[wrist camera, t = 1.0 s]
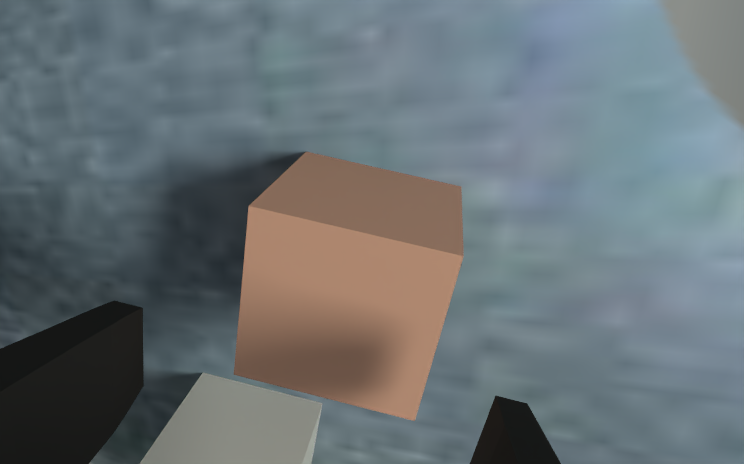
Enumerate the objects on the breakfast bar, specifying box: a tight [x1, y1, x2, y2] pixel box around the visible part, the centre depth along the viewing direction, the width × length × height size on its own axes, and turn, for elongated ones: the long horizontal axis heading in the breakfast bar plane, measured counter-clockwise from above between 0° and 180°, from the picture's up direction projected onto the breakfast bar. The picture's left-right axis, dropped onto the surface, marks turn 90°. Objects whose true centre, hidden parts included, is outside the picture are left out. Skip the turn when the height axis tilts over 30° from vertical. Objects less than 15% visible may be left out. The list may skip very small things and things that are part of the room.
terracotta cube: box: [234, 152, 463, 421], centre depth 15 cm, size 5×5×5 cm
